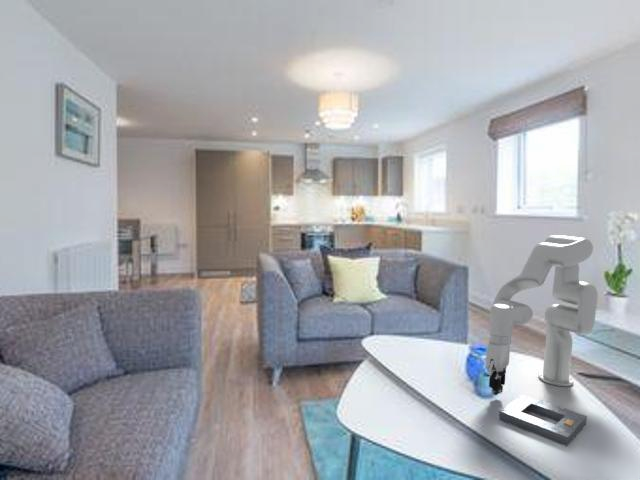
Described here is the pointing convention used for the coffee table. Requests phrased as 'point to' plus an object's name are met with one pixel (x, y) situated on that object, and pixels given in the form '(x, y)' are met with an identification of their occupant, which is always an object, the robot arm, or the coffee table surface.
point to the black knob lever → (500, 386)
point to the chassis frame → (559, 433)
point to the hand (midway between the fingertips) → (496, 385)
